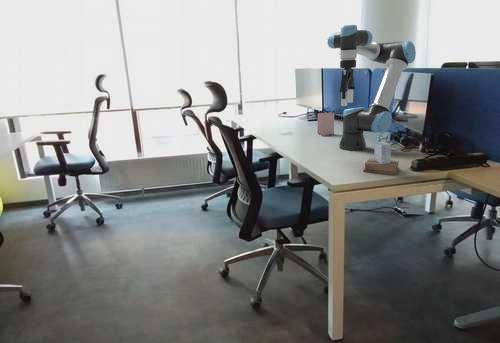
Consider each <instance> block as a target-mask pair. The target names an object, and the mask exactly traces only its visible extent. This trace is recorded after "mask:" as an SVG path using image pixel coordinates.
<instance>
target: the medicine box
mask: <svg viewBox="0 0 500 343" xmlns="http://www.w3.org/2000/svg"><path fill="white" fill-rule="evenodd" d="M373 151H374V152H373V159H374V160H375V161H377V162H379V163H380V164H390V160H391V158H392V157H391V155H392V145H391V144H390V143H388V142H386V141H375V142H374V150H373Z"/></svg>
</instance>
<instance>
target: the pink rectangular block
mask: <svg viewBox="0 0 500 343" xmlns="http://www.w3.org/2000/svg"><path fill="white" fill-rule="evenodd" d="M316 132H317V134H321V135H320V137H325V136H324V135H326V136H330V135H329V134H332V135H335V112H318V113H317V131H316ZM317 134H316V135H317Z"/></svg>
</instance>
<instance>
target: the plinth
mask: <svg viewBox="0 0 500 343" xmlns="http://www.w3.org/2000/svg"><path fill="white" fill-rule="evenodd" d="M399 170H400V167H399V160H391V159H390V164H380V163H379V162H377V161H375V160H374V158H368V159H367V160H366V162H365V163H364V168H363V171H362V172H364V173H371V174H372V173H373V174H381V175H382V174H383V175H384V174H385V175H393V176H397V174H398V172H399Z"/></svg>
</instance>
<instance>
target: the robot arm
mask: <svg viewBox="0 0 500 343" xmlns="http://www.w3.org/2000/svg"><path fill="white" fill-rule="evenodd" d="M372 41H373V34H372V32H371V31H370V30H367V29H359V30H358V25H356V24H348V25H342V26H341V27H340V32H334V33H330V34H329V35H328V37H327V46H328V48H330V49H339V50H340V52H339V53H338V54H339V58H340V62H339V68H340V69H344V70H342V71H341V79H340V80H341V81H340V89H339V93H340V94H341V95H340V105H341V107H347V106H348V103H354V90H355V89H356V86H355V77H354V68H356V67H357V60H356V59H357V56H358V55H360V56H362V57H365V58H366V59H367V60H369V61H371V62H374V63H378V64H382V65H383V64H385V65H386V69H385V72H384V74H383V76H382V79H381V82H380V85H379V87H378V90H377V93H376V96H375V98H374V99H373V103H372V104H369V105H368V109H365V107H364V106H361V107H360V106H359V107H353V108H345V109H344V110H343V114H342V136H341V137H340V138H341V139H340V142H339V147H338V148H339V149H341V150H345V151H346V150H347V151H361V150H365V149H366V148H367V144H366V143H367V142H366V138H365V137H364V136H365V135H364V132H369V133H374V134H383V133H385V132H387V131H388V130H389V129H390V127H391V124H392V121H393V116H392V113H391V110H390V106H391V103H392V101H393V99H394V98H393V97H394V95H395V92H396V89H397V87H398V84H399V81H400V79H401V76H402V73H403V71H405V70H406V69H407V68H408V65H409V64H411V63H414V61H415V59H416V56H417V54H416V51H417V50H416V47H415V44H414V43H413V42H412V41H408V40H406V41H405V40H403V41H392V42H382V43H377V42H372Z"/></svg>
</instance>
